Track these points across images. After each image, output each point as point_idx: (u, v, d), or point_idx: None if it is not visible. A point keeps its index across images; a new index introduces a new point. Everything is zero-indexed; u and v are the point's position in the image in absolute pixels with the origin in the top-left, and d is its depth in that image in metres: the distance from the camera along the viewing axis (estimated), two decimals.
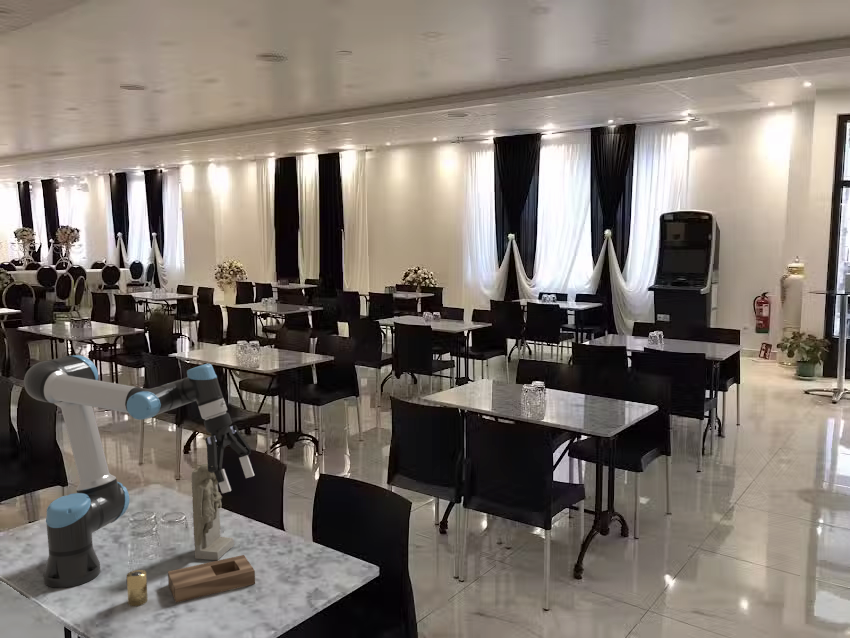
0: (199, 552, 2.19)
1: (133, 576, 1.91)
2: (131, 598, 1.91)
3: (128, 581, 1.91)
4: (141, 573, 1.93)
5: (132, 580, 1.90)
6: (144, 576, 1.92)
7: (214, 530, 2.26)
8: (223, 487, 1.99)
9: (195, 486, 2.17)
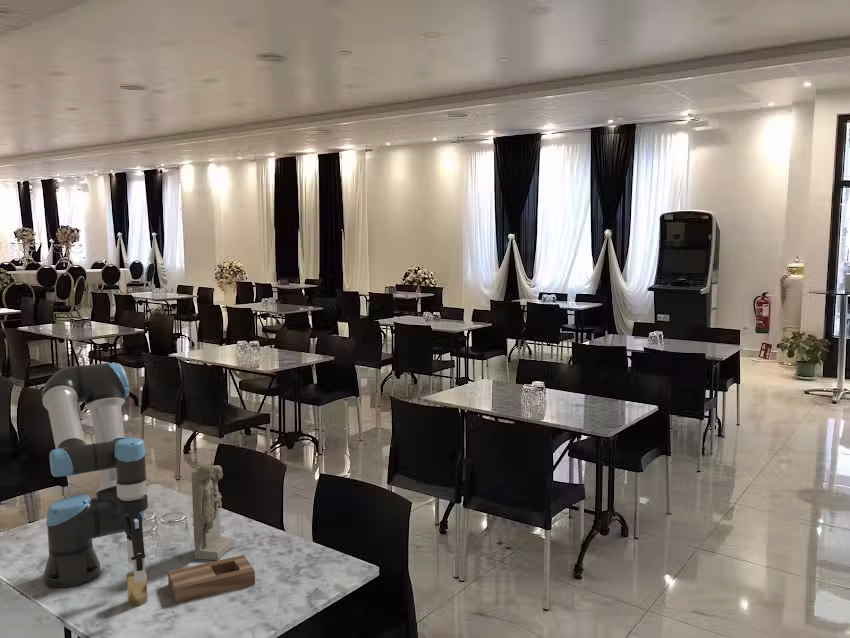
0: (199, 552, 2.19)
1: (133, 576, 1.91)
2: (131, 598, 1.91)
3: (128, 581, 1.91)
4: None
5: (133, 580, 1.90)
6: None
7: (214, 530, 2.26)
8: (138, 576, 1.86)
9: (195, 486, 2.17)
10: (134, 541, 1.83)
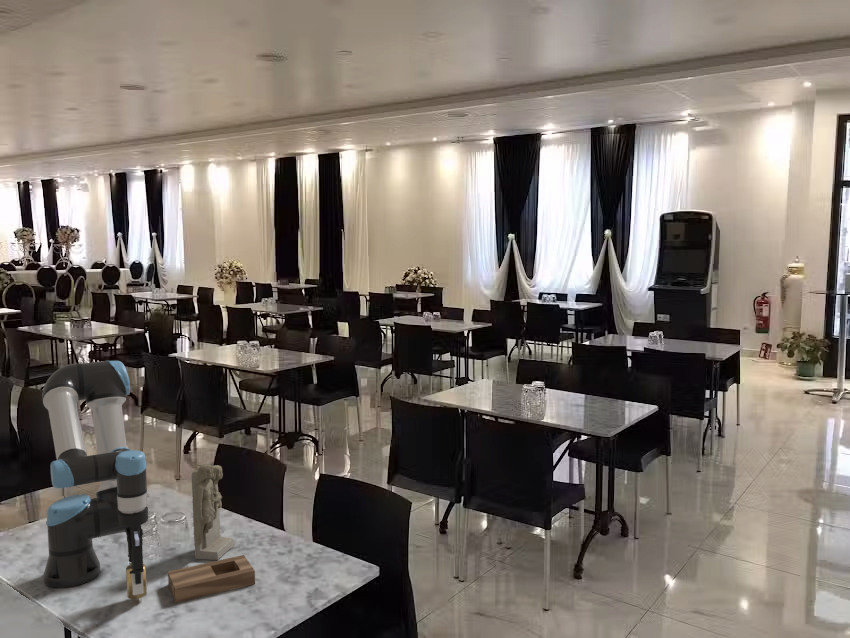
0: (199, 552, 2.19)
1: None
2: (131, 591, 1.91)
3: (127, 574, 1.91)
4: None
5: None
6: None
7: (214, 530, 2.26)
8: (137, 589, 1.91)
9: (195, 486, 2.17)
10: (134, 558, 1.86)
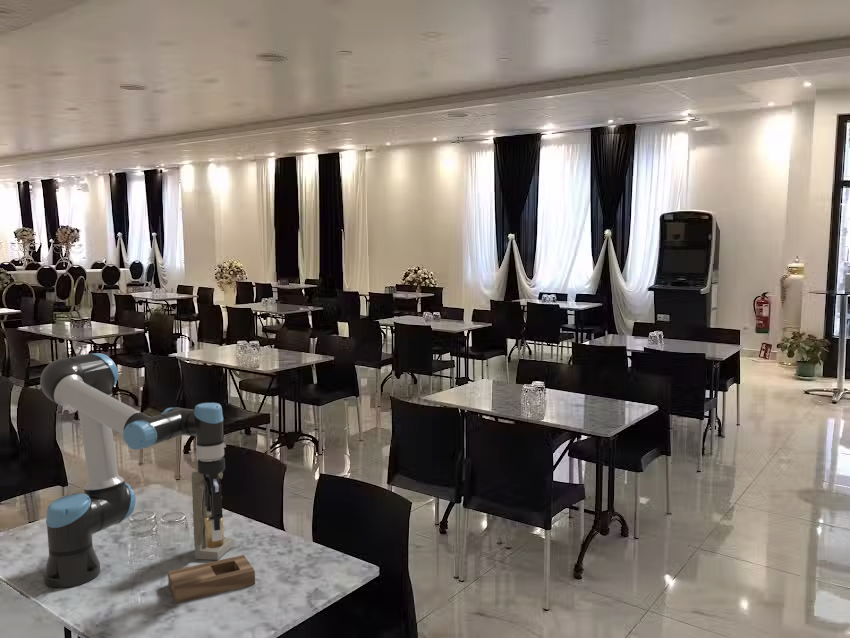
0: (199, 552, 2.19)
1: None
2: (210, 540, 1.99)
3: (206, 524, 1.99)
4: None
5: None
6: (221, 519, 2.01)
7: None
8: (216, 535, 1.99)
9: (195, 486, 2.17)
10: (213, 504, 1.95)
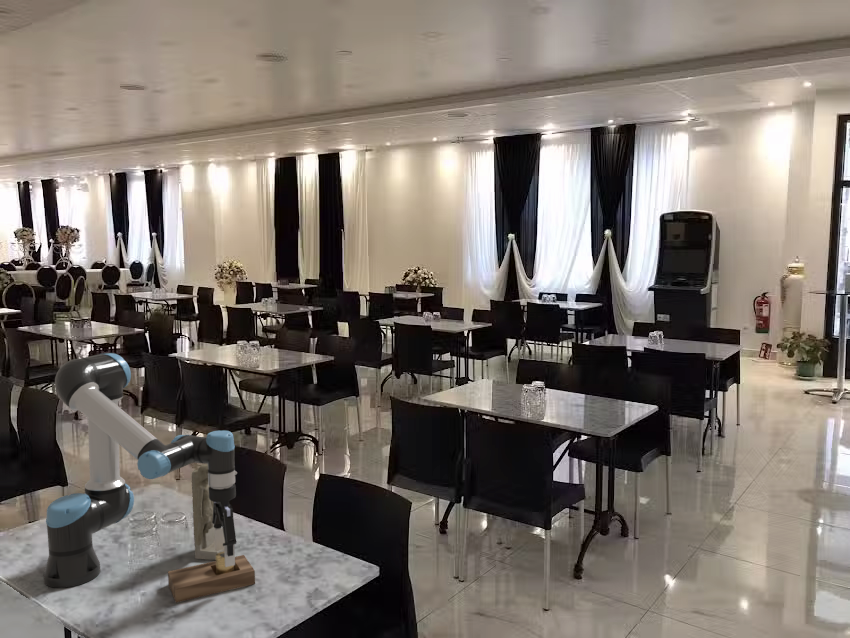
0: (199, 552, 2.19)
1: (222, 557, 2.03)
2: None
3: (217, 561, 2.02)
4: None
5: (222, 560, 2.02)
6: None
7: None
8: (229, 561, 1.98)
9: (195, 486, 2.17)
10: (226, 528, 1.96)
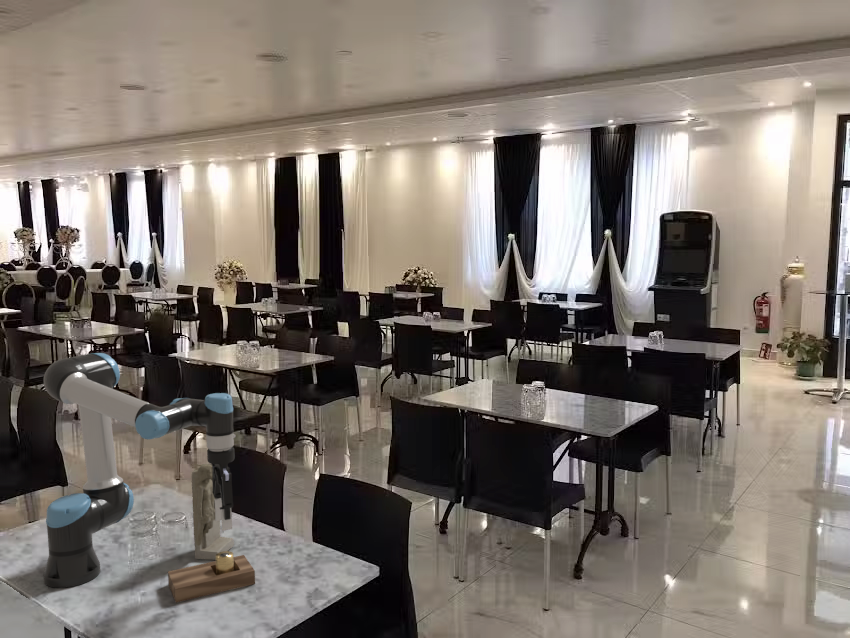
0: (199, 552, 2.19)
1: (222, 557, 2.03)
2: None
3: (217, 561, 2.02)
4: (228, 554, 2.04)
5: (222, 560, 2.02)
6: (232, 557, 2.04)
7: (214, 530, 2.26)
8: (226, 524, 1.99)
9: (195, 486, 2.17)
10: (224, 492, 1.96)
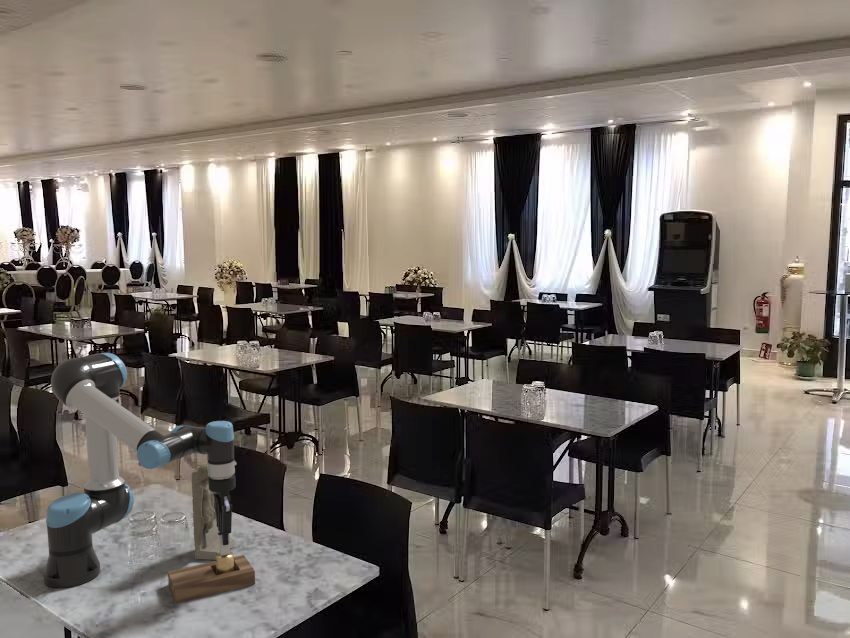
0: (199, 552, 2.19)
1: (222, 557, 2.03)
2: None
3: (217, 561, 2.02)
4: (228, 554, 2.04)
5: (222, 561, 2.02)
6: (232, 557, 2.04)
7: (214, 530, 2.26)
8: (224, 550, 2.03)
9: (195, 486, 2.17)
10: (223, 521, 1.99)
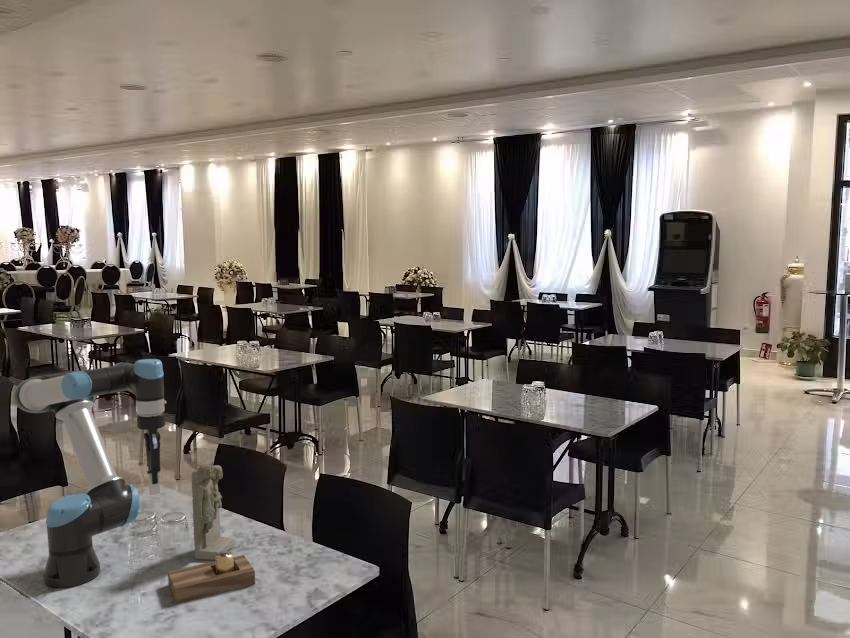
0: (199, 552, 2.19)
1: (222, 557, 2.03)
2: None
3: (217, 561, 2.02)
4: (228, 554, 2.04)
5: (222, 560, 2.02)
6: (232, 557, 2.04)
7: (214, 530, 2.26)
8: (153, 489, 2.02)
9: (195, 486, 2.17)
10: (151, 459, 1.97)
